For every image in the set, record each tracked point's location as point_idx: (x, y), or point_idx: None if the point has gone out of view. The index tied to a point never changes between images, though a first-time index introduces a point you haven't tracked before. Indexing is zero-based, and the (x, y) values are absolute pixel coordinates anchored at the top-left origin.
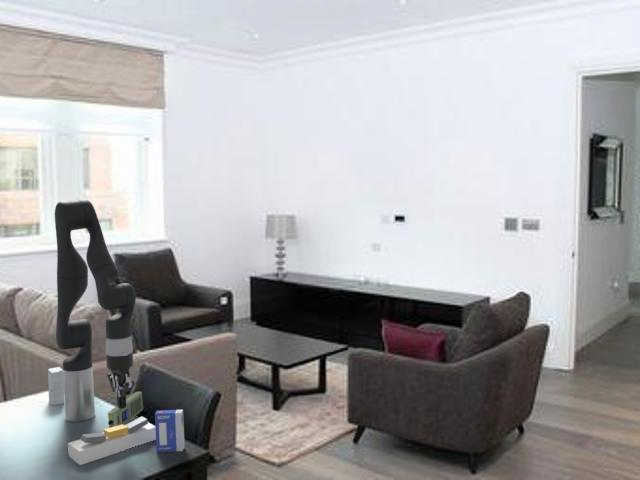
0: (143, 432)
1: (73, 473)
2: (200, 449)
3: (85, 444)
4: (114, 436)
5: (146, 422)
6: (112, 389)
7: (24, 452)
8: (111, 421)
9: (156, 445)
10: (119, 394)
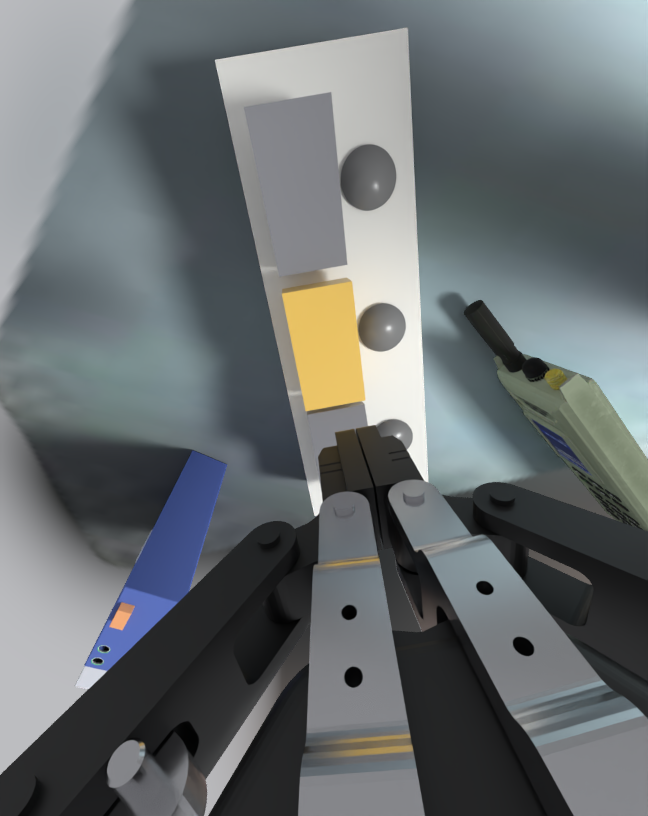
0: (303, 459)
1: (138, 22)
2: None
3: None
4: None
5: None
6: (526, 497)
7: None
8: (533, 374)
9: (185, 466)
10: (326, 521)
